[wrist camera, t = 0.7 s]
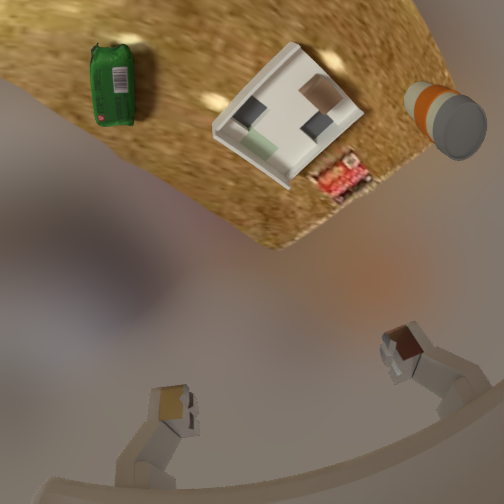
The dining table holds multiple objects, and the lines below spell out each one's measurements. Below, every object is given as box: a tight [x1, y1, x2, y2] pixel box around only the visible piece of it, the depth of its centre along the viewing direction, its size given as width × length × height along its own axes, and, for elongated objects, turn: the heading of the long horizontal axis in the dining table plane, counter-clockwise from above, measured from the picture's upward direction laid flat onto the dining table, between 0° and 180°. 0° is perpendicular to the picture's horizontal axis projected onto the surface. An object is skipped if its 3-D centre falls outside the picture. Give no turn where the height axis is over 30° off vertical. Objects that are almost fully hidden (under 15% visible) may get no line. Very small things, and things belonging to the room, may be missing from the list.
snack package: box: [90, 43, 136, 127], centre depth 37 cm, size 7×16×5 cm, turn 174°
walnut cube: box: [298, 73, 343, 116], centre depth 42 cm, size 4×4×4 cm
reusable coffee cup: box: [404, 81, 487, 161], centre depth 42 cm, size 13×13×15 cm
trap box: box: [212, 42, 364, 190], centre depth 46 cm, size 20×17×6 cm
